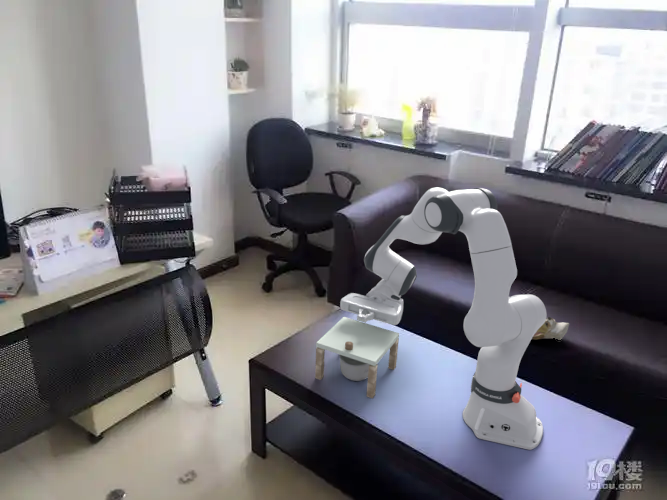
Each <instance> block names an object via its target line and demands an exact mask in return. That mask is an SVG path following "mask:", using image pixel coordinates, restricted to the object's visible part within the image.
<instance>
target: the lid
mask: <svg viewBox="0 0 667 500" xmlns="http://www.w3.org/2000/svg"><path fill="white" fill-rule="evenodd" d="M398 338H400V332H397V331H394V330H389V329H386V328H383V327H379V326H376V325H372V324H371V323H367V322H366V323H365V322H362V321H358V320H357V319H352V318H349V317H347V316H343V317H342V318H340V320H339V321H338V322H336V324H334V325H333V326H332V327H331V328H330V329H329V330H328V331H327V332H326V333H325V334H324V335H322V337H320V338H319V340H318V341H316V343H315V347H316V348H317V347H319V348H322V349H325V350H326V351H328V352H330V353H334V354H338V355H339V356H340V355H343V356H346V357H349V358H352V359H355V360H358V361H361V362H364V363H367V364H370V365H373V366H376V364H378V363H379V362H380V361H381V359H382V358H384V357H385V355H386V354H387V353H388V351H390V348H391V346H392V345H393V344H394V343H395V341H396V340H397V339H398Z"/></svg>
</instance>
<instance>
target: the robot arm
mask: <svg viewBox="0 0 667 500" xmlns="http://www.w3.org/2000/svg"><path fill="white" fill-rule="evenodd" d="M458 232H461V233H463V234H464V235H465V237H466V239H467V243H468V248H469V249H468V250H469V254H470V258H471V265H472V269H473V270H472V271H473V274H474V275H473V277H474V292H473V299H472V304H471V307H470V309H469V310H468V313H467V314H466V315H465V317H464V319H463V331H464V335H465V336H466V339H467V340H468V342H470V343H471V344H472V345H473V346H475V347H477V348H480V350H479V351H478V356H477V360H476V361H477V362H476V366H475V371H474V373H473V375H472V378H471V384H470V395H469V399H468V400H467V404H466V406H465V407H464V408H463V411H462V418H463V421H464V422H465V425H467V426H468V427H469V428H470V429H471V430H472V431H473V433H474V436H475V437H477V438H478V439H480V440H484V441H489V442H493V443H496V444H497V443H498V444H502V445H506V446H511V447H515V448H521V449H525V450H533V449H536V448H537V447H538V446H539V445H540V443H541V441H542V439H543V434H544V426H543V422H542V421H541V419H540V418H539V417H537V412H536V411H537V410H536V407H535V406H534V405H533V404H532V403H531V402H530V401H529V400H527V399H526V397H524V396H523V395H522V387H523V383H522V382H520V384H518V382H517V381H516V380H517V375H518V371H519V366H520V363H521V360H522V358H523V356H524V354H525V352H526V350H527V348H528V346H529V344H530V343H531V340H533V339H532V337H533V336H534V334H535V333H536V332H537V330H538V329H539V328H540V327H541V326H542V325H543V324H544V323H545V321H546V318H547V317H548V316H547V309H546V306H545V304H544V302H543V301H542V300H541V299H540V297H538V296H536V295H535V294H514V295H512V296H510V291H511V286H512V284H513V283H514V281H515V279H516V278H517V276H518V269H517V265H516V260H515V259H516V258H515V254H514V250H513V245H512V244H513V243H512V240H511V236H510V233H509V230H508V227H507V224H506V222H505V220H504V217H503V215H502V214H501V212H500V211H498V201H497V198H496V196H495V195H494V193H493V192H492V191H491V190H489V189H486V188H483V187H474V188H470V189H455V190H451V191H448V189H445V188H443V187H438V186H436V187H431V188H429V189H428V190H426V191H425V192H424V194H422V196H421V197H420V199H419V200H418V202H417V203H416V205H415V206H414V207H413V209H412V211H411V213H410V214H407V215H400V216H398V217H397V218H396V219H395V220H394V221H393V222H392V224H391V225H390V226H389V227H388V228H387V229H386V230H385V231H384V233H383V234H382V235H381V237H380V238H379V239H378V240H377V241H376V243H375V244H373V245H372V246H371V247H370V248H368V250H367V251H366V253H365V255H364V258H363V262H364V267H365V269H366V270H368V271H370V272H371V273H373V274H375V275H377V276H379V278H381V280H380V281H379V282H378V283H377V284H376V285H375V286H374V287H372V288H371V290H370V291H368V293H366V295H363V294H360V293H356V292H355V293H354V292H350V293H348V294H347V295H345V296H344V297H342V298H341V299H340V302H339V303H340V304H339V305H340V310H342V311H344V312H348V313H350V314H351V313H352V314H354V315H357V316H356V320H357V321H360V322H363V323H367V322H368V321H373V320H375V321H379V322H381V323H385V324H388V325H392V326H396V325H398V324H399V323H400V322H401V320H402V317H403V312H404V299H403V298H401V297H402V296H403V295H405V294H406V293H408V291H409V290H410V289H411V288H412V287H413V284H414V283H415V282H416V280H417V277H418V273H417V267H416V265H414V264H413V263H411V262H410V261H408V260H407V259H405V258H404V257H403V256H400V254H398V253H396V252H395V251H393V250H392V249H391V248H390V246H391V244H392V243H393V242H394V241H395V240H397V239H398V240H403V241H408V242H410V243H413V244H417V245H429V244H432V243H434V242H436V241H437V240H438V239H439V237H441V235H442V233H448V234H452V235H456V234H458Z"/></svg>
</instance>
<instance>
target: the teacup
mask: <svg viewBox="0 0 667 500" xmlns="http://www.w3.org/2000/svg"><path fill="white" fill-rule="evenodd" d="M369 365H370V364H367V363H364V362H361V361H358V360H355V359H352V358H349V357H346V356H343V355H340V354H339V366H340V371H341V374H342V375H343V376H344V377H345V378H346V379H349V380H350V381H352V382H353V381H354V382H361V381H364V380H365V379H368V370H369Z"/></svg>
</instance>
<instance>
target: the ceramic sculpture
mask: <svg viewBox="0 0 667 500" xmlns="http://www.w3.org/2000/svg"><path fill="white" fill-rule="evenodd" d="M569 327H570V323H569V322H557V321H556V319H554V318H553V317H550V316H547V317H546V321H545V323H544V324H543V325H542V326H541V327H540V328H539V329H538V330H537V332H536V333H535V334H534V336H533V337H532V339H531V340H535V341H536V340H542V339H553V338H555V340H556V339H558V340H561V339H562V340H563V339H564V336H565V335H566V334H567V333H568V329H569ZM562 340H561V341H562Z"/></svg>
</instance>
